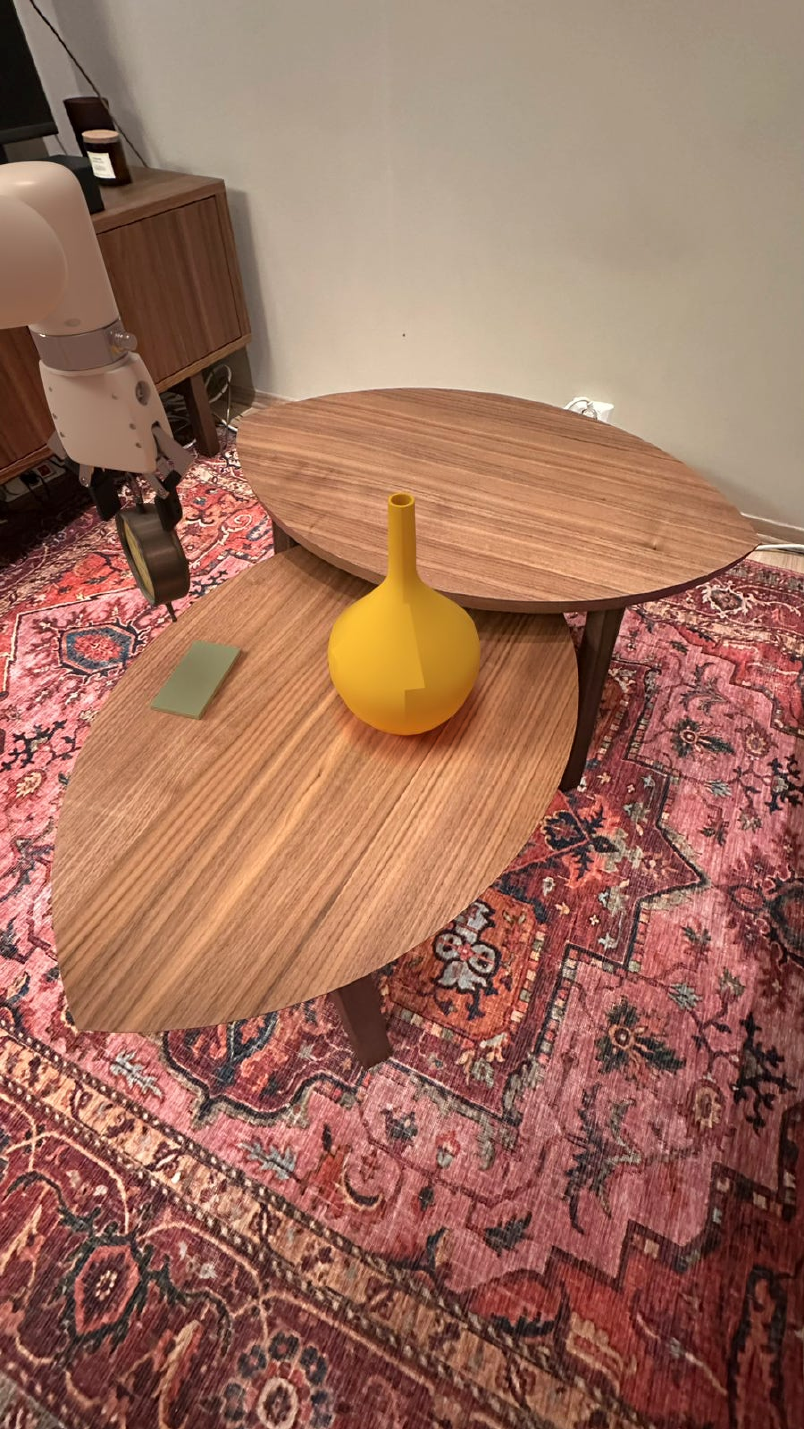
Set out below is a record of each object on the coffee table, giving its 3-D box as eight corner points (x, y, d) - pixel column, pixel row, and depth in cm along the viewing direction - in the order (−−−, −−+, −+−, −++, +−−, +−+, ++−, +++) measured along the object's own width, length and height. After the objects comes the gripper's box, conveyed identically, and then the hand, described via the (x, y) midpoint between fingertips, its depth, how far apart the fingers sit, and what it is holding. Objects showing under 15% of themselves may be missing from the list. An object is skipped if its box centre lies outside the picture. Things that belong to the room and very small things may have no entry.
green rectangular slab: (199, 720, 88) (198, 716, 87) (151, 709, 89) (149, 705, 88) (242, 652, 96) (241, 648, 95) (197, 643, 97) (195, 639, 97)
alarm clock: (132, 583, 84) (87, 459, 72) (174, 568, 86) (137, 445, 74) (165, 633, 78) (122, 506, 66) (209, 616, 80) (176, 490, 68)
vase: (306, 726, 87) (268, 521, 64) (380, 639, 97) (369, 437, 75) (434, 783, 81) (441, 579, 58) (498, 684, 91) (525, 479, 69)
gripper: (190, 335, 61) (231, 512, 74) (24, 319, 64) (92, 490, 78) (148, 370, 56) (199, 551, 70) (-29, 350, 60) (52, 527, 73)
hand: (142, 518), depth 74 cm, fingers closed on alarm clock, 6 cm apart
